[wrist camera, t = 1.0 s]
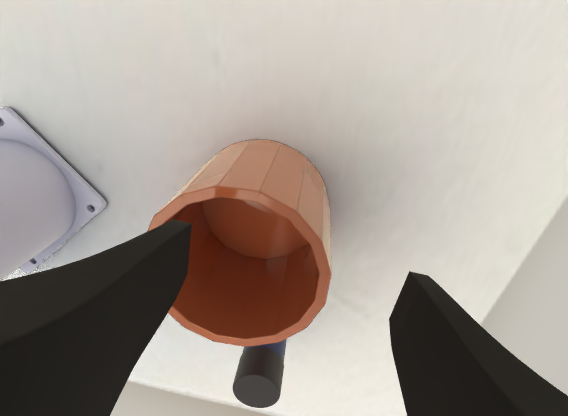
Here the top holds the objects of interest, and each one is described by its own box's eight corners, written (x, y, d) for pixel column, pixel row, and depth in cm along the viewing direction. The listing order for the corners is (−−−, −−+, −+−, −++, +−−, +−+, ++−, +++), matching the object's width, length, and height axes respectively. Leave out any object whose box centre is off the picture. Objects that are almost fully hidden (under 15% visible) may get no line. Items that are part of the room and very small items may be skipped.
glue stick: (269, 331, 26) (253, 414, 21) (246, 308, 26) (222, 386, 20) (297, 316, 26) (289, 397, 20) (274, 291, 25) (258, 368, 19)
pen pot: (255, 279, 25) (228, 369, 18) (171, 191, 22) (104, 255, 16) (355, 217, 22) (368, 296, 15) (270, 109, 20) (241, 144, 13)
